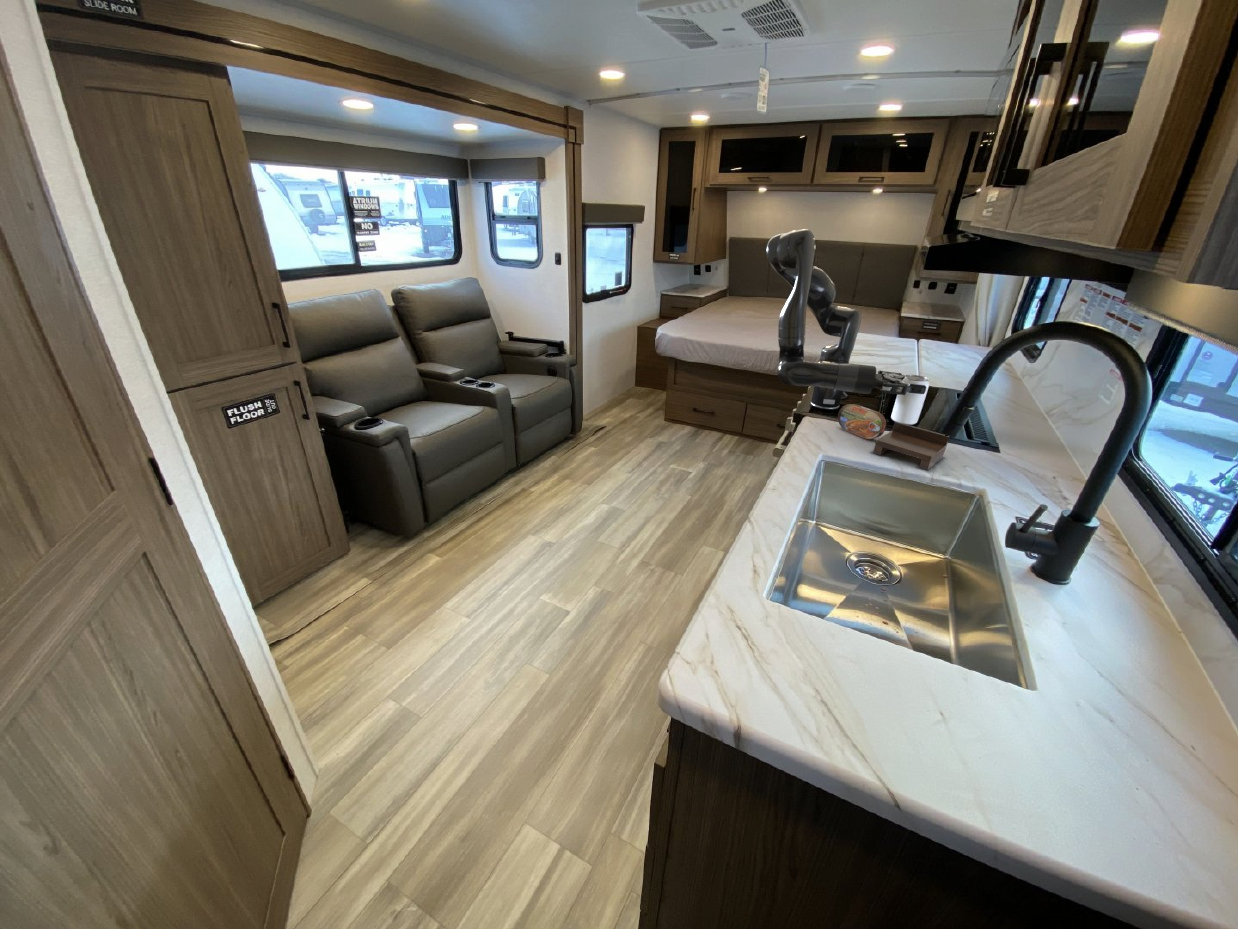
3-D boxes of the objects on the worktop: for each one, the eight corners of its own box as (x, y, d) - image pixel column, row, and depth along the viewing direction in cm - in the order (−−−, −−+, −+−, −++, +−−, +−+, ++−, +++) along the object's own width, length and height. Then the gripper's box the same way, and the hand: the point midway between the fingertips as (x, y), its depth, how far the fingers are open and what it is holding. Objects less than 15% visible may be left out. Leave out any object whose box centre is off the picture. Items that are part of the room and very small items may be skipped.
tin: (834, 426, 155) (840, 400, 152) (841, 424, 157) (847, 399, 153) (876, 443, 144) (883, 416, 140) (883, 442, 145) (891, 415, 141)
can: (910, 417, 136) (924, 374, 131) (921, 425, 131) (935, 382, 125) (886, 415, 137) (899, 373, 131) (895, 424, 131) (909, 380, 126)
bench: (890, 442, 145) (895, 421, 142) (942, 457, 136) (950, 436, 133) (872, 453, 138) (878, 431, 135) (927, 470, 128) (934, 447, 126)
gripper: (859, 371, 126) (932, 379, 121) (855, 358, 138) (922, 365, 133) (852, 399, 129) (923, 408, 124) (849, 384, 141) (914, 391, 136)
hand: (922, 386), depth 129 cm, fingers closed on can, 6 cm apart
